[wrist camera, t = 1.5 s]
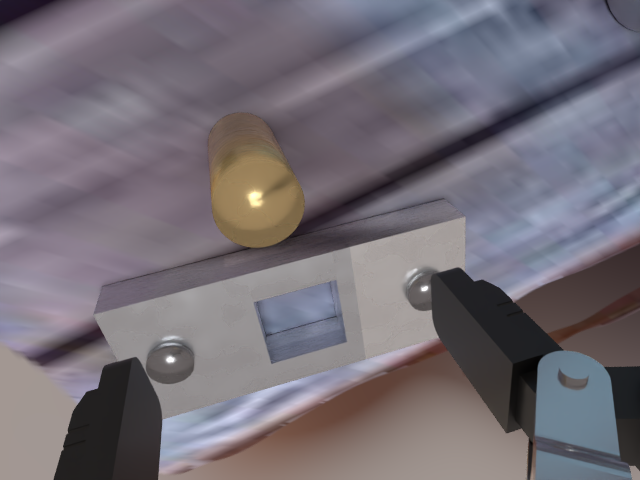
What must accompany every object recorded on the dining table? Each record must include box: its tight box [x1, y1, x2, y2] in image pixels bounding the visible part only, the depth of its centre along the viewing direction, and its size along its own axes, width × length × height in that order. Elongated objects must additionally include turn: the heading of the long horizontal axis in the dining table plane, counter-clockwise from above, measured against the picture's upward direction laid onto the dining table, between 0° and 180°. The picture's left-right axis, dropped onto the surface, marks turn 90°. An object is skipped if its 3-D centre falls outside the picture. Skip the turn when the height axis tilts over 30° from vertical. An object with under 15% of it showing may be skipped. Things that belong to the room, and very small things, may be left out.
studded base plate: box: [93, 199, 465, 419], centre depth 32 cm, size 24×10×4 cm, turn 99°
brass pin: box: [208, 113, 305, 248], centre depth 24 cm, size 4×4×9 cm
